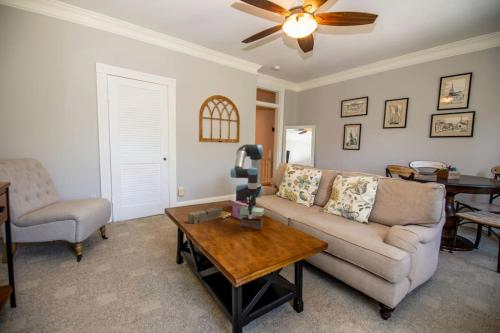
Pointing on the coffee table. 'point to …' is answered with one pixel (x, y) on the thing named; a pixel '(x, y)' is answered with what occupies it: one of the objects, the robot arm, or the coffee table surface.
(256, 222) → the crate
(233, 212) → the gum box
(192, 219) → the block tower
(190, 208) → the coffee table surface
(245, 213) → the lid
